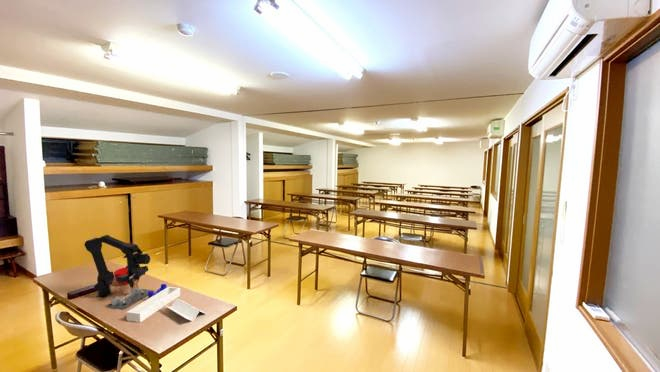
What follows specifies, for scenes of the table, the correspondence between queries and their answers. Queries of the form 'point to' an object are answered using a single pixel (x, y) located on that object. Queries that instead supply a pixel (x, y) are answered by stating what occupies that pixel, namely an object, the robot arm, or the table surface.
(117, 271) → the ceramic cup
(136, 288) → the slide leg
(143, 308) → the block frame
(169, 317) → the table surface
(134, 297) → the plate
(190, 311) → the z bracket
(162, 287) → the cable clip
